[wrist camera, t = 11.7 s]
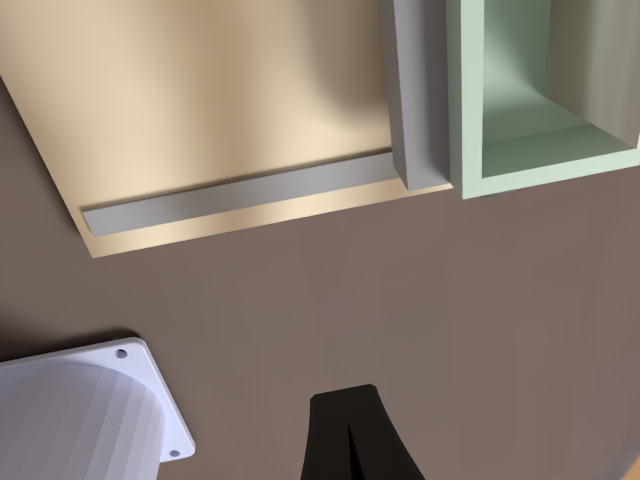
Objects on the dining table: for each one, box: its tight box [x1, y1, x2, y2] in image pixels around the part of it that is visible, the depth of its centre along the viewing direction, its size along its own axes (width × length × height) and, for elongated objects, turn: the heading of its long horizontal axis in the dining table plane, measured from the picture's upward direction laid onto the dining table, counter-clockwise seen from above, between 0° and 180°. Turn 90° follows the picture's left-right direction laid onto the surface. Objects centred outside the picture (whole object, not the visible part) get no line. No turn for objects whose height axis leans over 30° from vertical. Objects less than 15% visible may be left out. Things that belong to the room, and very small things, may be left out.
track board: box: [0, 0, 454, 258], centre depth 14 cm, size 24×11×4 cm, turn 99°
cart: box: [378, 0, 640, 199], centre depth 13 cm, size 11×9×4 cm
